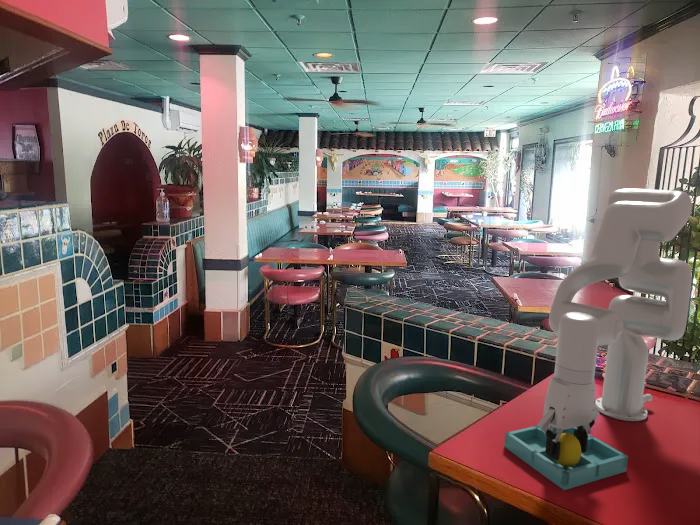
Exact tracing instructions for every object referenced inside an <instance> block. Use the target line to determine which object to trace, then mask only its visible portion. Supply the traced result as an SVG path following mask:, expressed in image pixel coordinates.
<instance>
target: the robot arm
mask: <svg viewBox="0 0 700 525" xmlns="http://www.w3.org/2000/svg"><path fill="white" fill-rule="evenodd" d="M607 202H608V203H607V204H608V206H607V207H606V208H605V211H604V213H603V216H602V219H601V223H600V226H599V229H598V232H597V235H596V238H595V241H594V245H593V247H592V251H591V254H590V256H589V259H587V260H586V261H585V262H583V263H581V264H580V265H578V266H577V267H575V268H574V269H573V270H571V272H569V273H568V274H567V275H566V277H564V278H563V280H562V281H561V282H560V283H559V285H558V287H557V289H556V292H555V295H554V298H553V301H552V304H551V308H550V310H549V311H550V312H549V317H548V324H549V327H550V329H551V330H552V331H553V332H554V333H555V334H557V343H556V353H555V364H554V372H553V375H554V376H553V377H551V378H550V381H549V383H548V387H547V391H546V396H545V400H544V404H543V406H544V407H543V414H542V418H541V419H540V420H539V422H538V423H537V425H538V427H539V428H540V429H541V431H542V433H543V434H544V435H545V436H546V437H547V440H546V450H545V452H546V454H547V455H549V456H550V457H552V458H553V459H555V460H558V459H559V454H560V445H561V442H559V441H558V440H559V438H560V436H561V434H562V432H563V430H566V429H570V428H574V427H577V429H574V436H575V437H576V438H577V439H578V440H579V442H580V446H581V452H583V453H584V452H586V450H587V442H588V435H587V434H590V435H591V434H592V433H591V432H592V430H591V429H592V428H593V426H594V425H595V424H596V423H595V422H596V421H597V419H598V417H599V415H600V413H601V414H602V415H605V416H607V417H609V418H613V419H616V420H620V421H626V422H640V421H644V420H646V419H647V418H648V413H649V412H648V410H647V409H646V408H645V407H644V404H645V403H646V402H647V403H648V402H651V401H653V398H654V397H653V395H652V394H651V393H646V394H644V391H645V382H646V375H647V368H648V360H649V355H650V354H649V348H648V345H647V343H646V342H645V339H644V337H643V336H646V337H650V338H656V339H658V340H659V339H660V340H665V341H672V342H673V341H678V340H680V339H681V338H682V337H683V336H684V335H685V332H686V328H687V327H686V326H687V323H688V322H687V321H688V317H689V316H688V315H689V306H690V298H691V290H692V282H693V280H692V278H693V276H692V269H691V266H690V265H689V264H688V263H687V262H686V261H684V260H682V259H681V260H680V259H678V258H677V259H676V258H669V257H661V256H660V247H661V246H660V245H661V243H667V242H670V241H672V240H673V239H674V238H675V237H676V236H677V235H678V233H680V231H681V230H682V229H683V228H684V226H685V225H686V224H687V222H688V221H689V218H690V215H691V212H692V209H693V203H692V199H691V197H690V195H689V194H688V193H687V192H685V191H682V190H672V189H671V190H670V189H651V188H630V187H629V188H620V189H616V190H614V191H612V192H611V193H610V195H609V196H608V201H607ZM616 278H618V279H617V280H618V283H619V286H620V287H621V288H622V289H624V290H626V291H629V292H634V293H639V294H646V295H651V296H658V297H662V298H664V299H665V300H661V299H654V298H650V297H644V296H639V295H638V296H637V295H630V294H621V295H616V296H615V297H613V298H612V299H611V301H610V302H609V305H608V308H605V307H604V308H603V307H598V306H594V305H589V304H583V303H578V302H572V301H573V299H574V298H575V296H576V294H577V293H578V292H580V290H582V289H583V288H586V287H587V286H589V285H593V284H594V283H599V282H603V281H606V280H611V279H616ZM604 346H607V351H606V352H607V353H606V360H605V368H604V370H605V371H604V376H603V377H604V378H603V386H602V393H601V394H602V395H601V397H598V398H596V382H595V375H596V374H595V373H596V367H597V366H596V365H597V359H598V358H597V357H598V348H599V347H604ZM555 423H556V424H557V425H556V424H555ZM554 428H556V429H557V430H556V432H555V434H554V433H553V432H552V431H553V429H554Z"/></svg>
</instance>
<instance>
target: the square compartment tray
mask: <svg viewBox="0 0 700 525" xmlns="http://www.w3.org/2000/svg"><path fill="white" fill-rule="evenodd" d="M555 424H556V423H555ZM556 425H557V424H556ZM574 429H577V427H574V428H570V429H566V430H563V432H562V434H563V433H567V432H568V433H570V434H572V435H574ZM556 430H557V429H556V428H554V429H553V431H552V432H553V433H554V434H555V432H556ZM587 435H588V442H587V450H586V452H584V453H583V452H581V457H580V460H579V462H578V463H577V464H576V465H575V466H573V467H568V468H564V467H563V466H562V465H560V464H559V463H558V462H557V461H556V460H555V459H553V458H552V457H550V456H549V455H547V454H546V452H545V450H546V440H547V437H546V436H545V435H544V434H543V433H542V431H541V429H540V428H539V427H538V424H537V425H534V426H528V427H526V428H525V427H524V428H521V429H516V430H512V431H508V432H505V436H504V448H505V449H506V450H508V451H510V452H511V453H512V454H513V455H514V456H516V457H517V458H519V459H520V460H522V461H523V462H525V464H528V465H529V466H530V467H531V468H532V469H534V470H535V471H537V472H539V474H541V475H542V476H544V477H545V478H546V479H547V480H549V481H551V482H552V483H553V484H555V485H556V486H557V487H558V488H561V489H562V490H563V491H566V490H570V489H574V488H576V487H580V486H583V485H587V484H590V483H593V482H596V481H599V480H602V479H606V478H610V477H612V476H615V475H619V474H622V473H625V472H627V469H628V467H627V466H628V462H629V461H628V460H629V456H628V455H627V454H625V453H623V452H621V451H619V450H618V449H617V448H614V447H612V446H611V445H609V444H608V443H606V442H604V441H603V440H600V439H599V438H598V437H595V436H594V435H591V433H590V434H587Z"/></svg>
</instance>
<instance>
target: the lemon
mask: <svg viewBox="0 0 700 525" xmlns="http://www.w3.org/2000/svg"><path fill="white" fill-rule="evenodd" d="M558 441H559V442H561V445H560V454H559V459H558V460H556V461H557V462H558V463H559V464H560V465H562V466H563V467H564V468H568V467H573V466H575V465H576V464H577V463H578V462H579V460H580V457H581V446H580V442H579V440H578V439H577V438H576V437H575V436H574V435H572V434H570V433H568V432H567V433H563V434H561V436H560V438H559V440H558Z"/></svg>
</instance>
